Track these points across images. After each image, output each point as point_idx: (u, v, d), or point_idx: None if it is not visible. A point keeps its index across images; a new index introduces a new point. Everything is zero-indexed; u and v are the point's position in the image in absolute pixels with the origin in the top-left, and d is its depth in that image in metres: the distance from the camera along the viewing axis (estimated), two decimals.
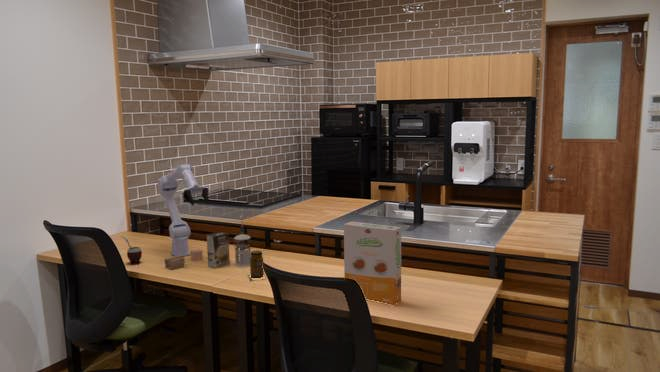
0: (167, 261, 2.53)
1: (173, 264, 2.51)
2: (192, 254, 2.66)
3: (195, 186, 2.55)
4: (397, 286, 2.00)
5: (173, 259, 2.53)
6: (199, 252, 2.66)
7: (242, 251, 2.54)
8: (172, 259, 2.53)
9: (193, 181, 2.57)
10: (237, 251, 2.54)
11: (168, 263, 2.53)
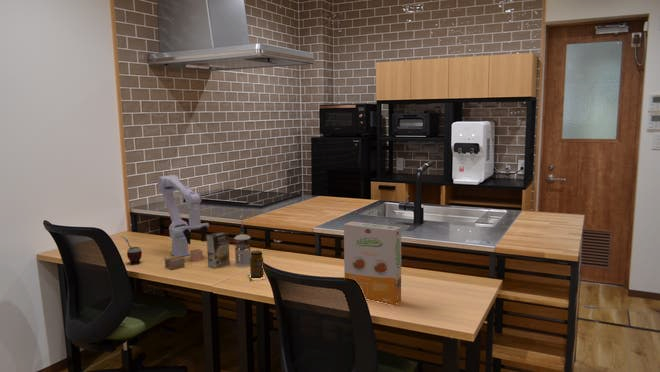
0: (167, 261, 2.53)
1: (173, 264, 2.51)
2: (192, 254, 2.66)
3: (197, 227, 2.63)
4: (397, 286, 2.00)
5: (173, 259, 2.53)
6: (199, 252, 2.66)
7: (242, 251, 2.54)
8: (173, 259, 2.53)
9: (197, 220, 2.63)
10: (237, 251, 2.54)
11: (168, 263, 2.53)
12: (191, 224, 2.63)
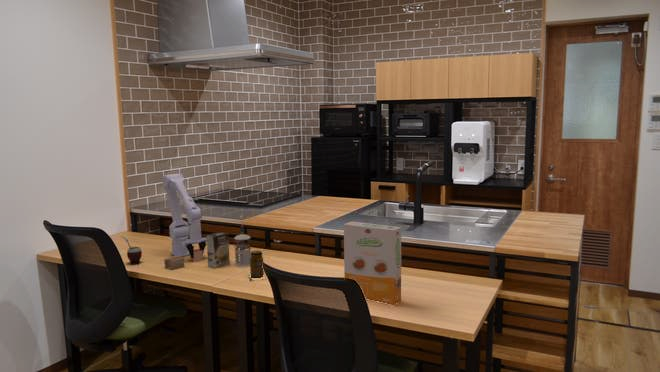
0: (167, 261, 2.53)
1: (173, 264, 2.51)
2: None
3: None
4: (397, 286, 2.00)
5: (173, 259, 2.53)
6: (199, 252, 2.66)
7: (242, 251, 2.54)
8: (173, 259, 2.53)
9: (197, 235, 2.64)
10: (237, 251, 2.54)
11: (168, 263, 2.53)
12: (192, 239, 2.64)
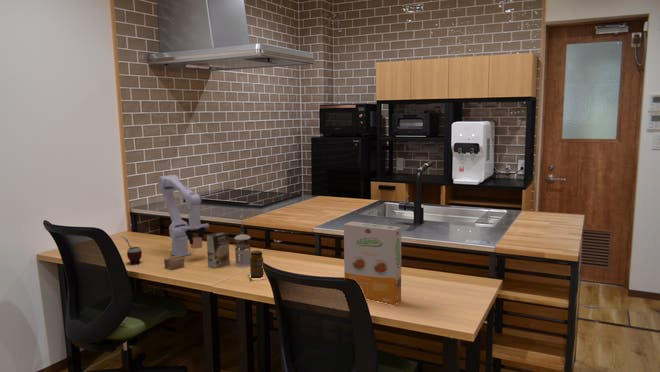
0: (167, 261, 2.53)
1: (173, 264, 2.51)
2: None
3: (197, 228, 2.63)
4: (397, 286, 2.00)
5: (173, 259, 2.53)
6: (198, 239, 2.65)
7: (242, 251, 2.54)
8: (172, 259, 2.52)
9: (197, 221, 2.63)
10: (237, 251, 2.54)
11: (168, 263, 2.52)
12: (191, 225, 2.63)
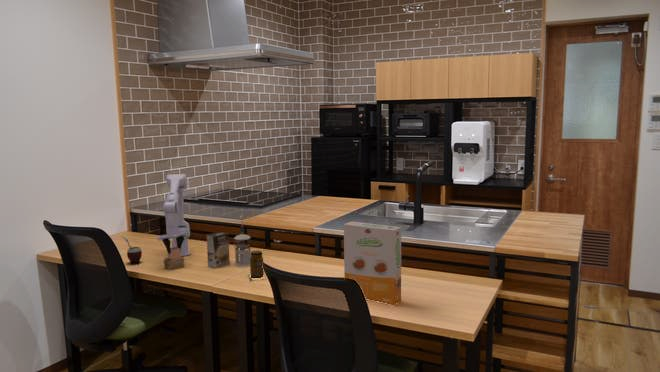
0: (166, 261, 2.53)
1: (173, 264, 2.51)
2: None
3: (174, 236, 2.51)
4: (397, 286, 2.00)
5: None
6: (177, 250, 2.53)
7: (242, 251, 2.54)
8: None
9: (174, 229, 2.51)
10: (237, 251, 2.54)
11: (168, 263, 2.52)
12: (168, 233, 2.51)
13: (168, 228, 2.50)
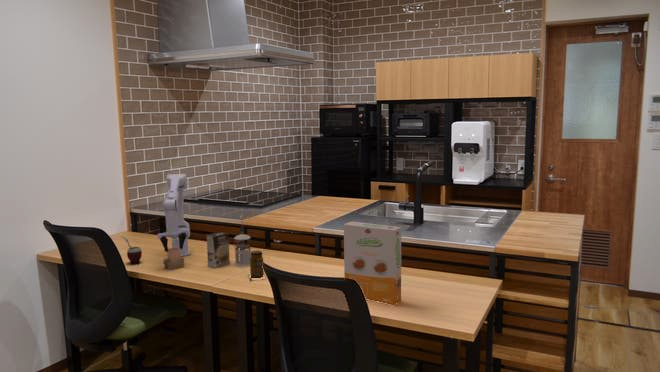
0: (166, 262, 2.53)
1: (173, 264, 2.51)
2: (169, 253, 2.53)
3: (174, 234, 2.51)
4: (397, 286, 2.00)
5: None
6: (176, 251, 2.53)
7: (242, 251, 2.54)
8: None
9: (174, 227, 2.51)
10: (237, 251, 2.54)
11: (167, 264, 2.52)
12: (168, 231, 2.50)
13: (168, 226, 2.50)
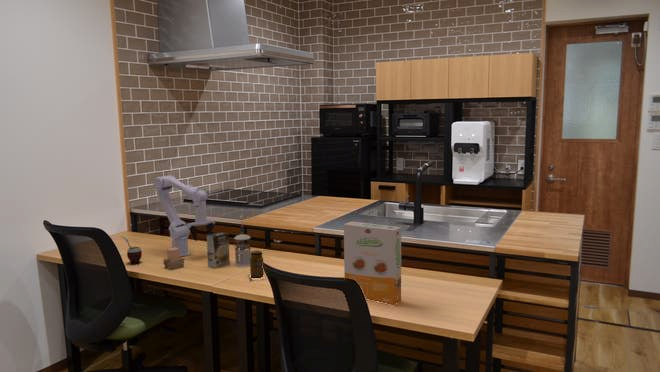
0: (166, 262, 2.53)
1: (173, 264, 2.51)
2: (168, 253, 2.53)
3: (203, 224, 2.66)
4: (397, 286, 2.00)
5: None
6: (176, 250, 2.53)
7: (242, 251, 2.54)
8: (172, 260, 2.52)
9: (203, 217, 2.66)
10: (237, 251, 2.54)
11: (167, 263, 2.52)
12: (197, 221, 2.66)
13: (197, 216, 2.66)
